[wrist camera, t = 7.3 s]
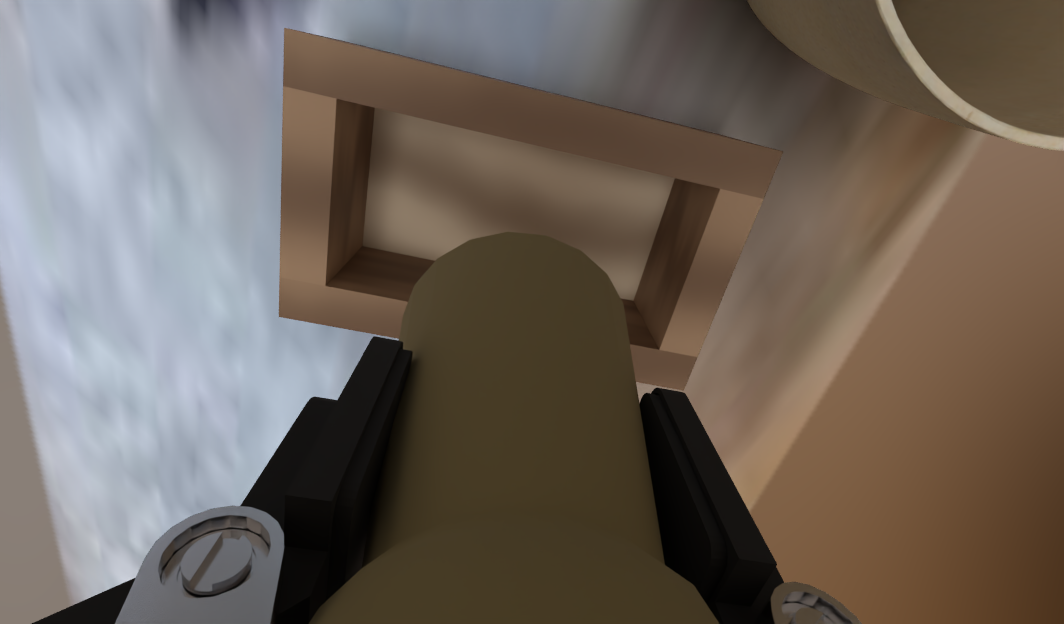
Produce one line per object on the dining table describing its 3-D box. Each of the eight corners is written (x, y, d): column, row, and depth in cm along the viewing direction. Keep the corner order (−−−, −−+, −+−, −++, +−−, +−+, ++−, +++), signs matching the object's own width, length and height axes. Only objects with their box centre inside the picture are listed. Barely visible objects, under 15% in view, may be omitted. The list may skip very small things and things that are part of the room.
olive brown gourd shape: (458, 456, 15) (347, 1200, 5) (359, 281, 13) (-237, 1055, 3) (652, 393, 14) (970, 1121, 4) (587, 194, 12) (975, 817, 2)
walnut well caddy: (344, 41, 25) (284, 27, 18) (720, 134, 27) (783, 151, 21) (329, 265, 30) (278, 316, 23) (650, 328, 32) (683, 390, 26)
